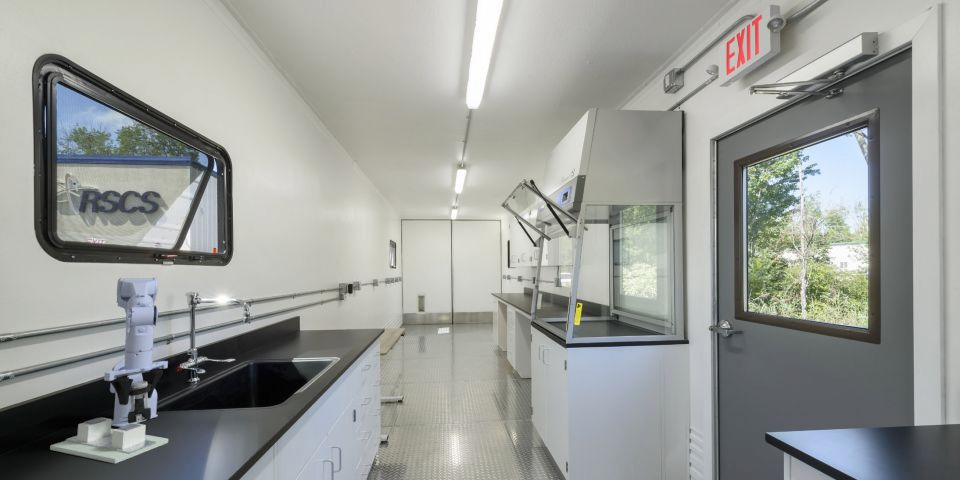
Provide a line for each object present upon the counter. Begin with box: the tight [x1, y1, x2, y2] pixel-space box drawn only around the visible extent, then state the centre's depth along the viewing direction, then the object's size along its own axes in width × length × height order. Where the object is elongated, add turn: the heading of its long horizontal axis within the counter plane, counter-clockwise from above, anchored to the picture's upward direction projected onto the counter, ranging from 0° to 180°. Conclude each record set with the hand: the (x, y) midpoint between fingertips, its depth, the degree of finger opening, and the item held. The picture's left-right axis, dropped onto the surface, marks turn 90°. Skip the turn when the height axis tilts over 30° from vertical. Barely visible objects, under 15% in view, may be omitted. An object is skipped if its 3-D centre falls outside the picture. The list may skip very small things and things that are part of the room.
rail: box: [65, 433, 156, 454], centre depth 103 cm, size 6×24×1 cm, turn 73°
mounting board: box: [49, 428, 169, 464], centre depth 103 cm, size 12×24×1 cm, turn 73°
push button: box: [120, 381, 152, 423], centre depth 108 cm, size 7×5×10 cm
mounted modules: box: [76, 417, 147, 449], centre depth 103 cm, size 5×17×4 cm, turn 73°
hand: (135, 401), depth 108 cm, fingers closed on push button, 5 cm apart
